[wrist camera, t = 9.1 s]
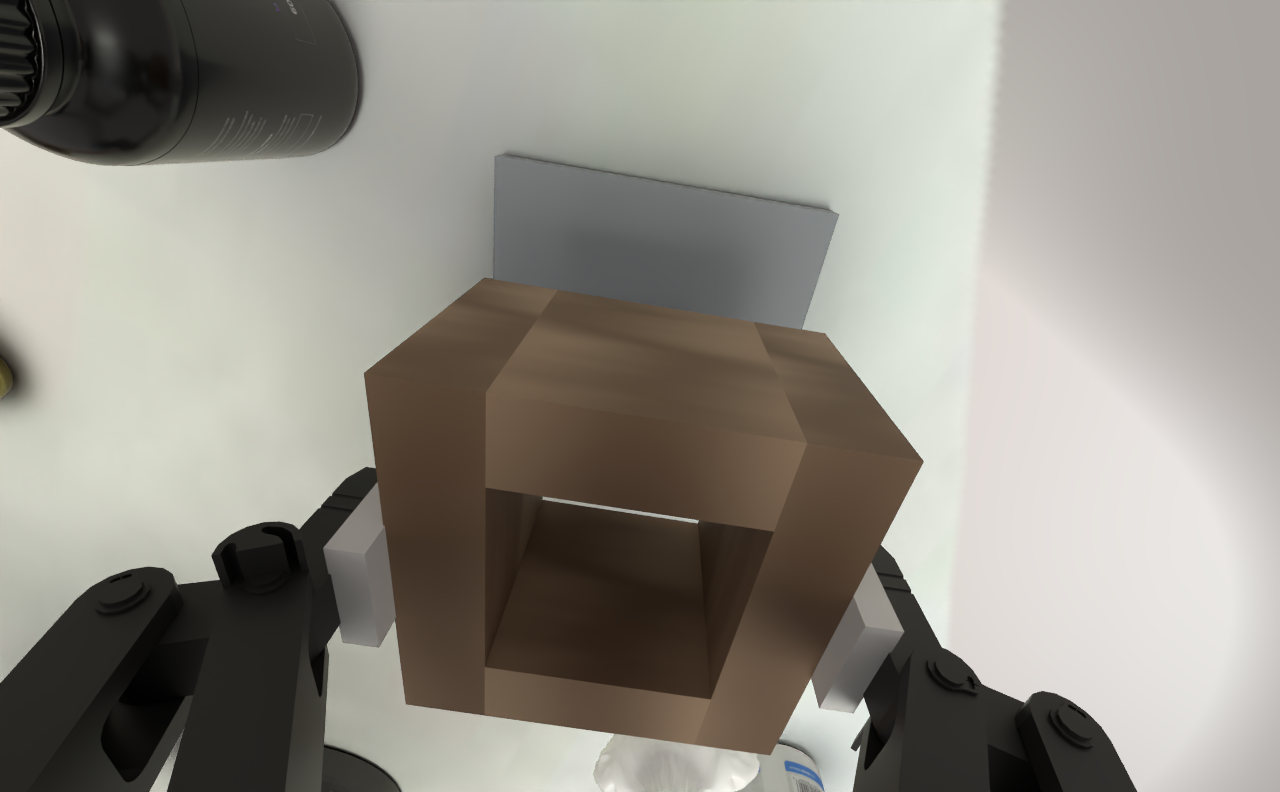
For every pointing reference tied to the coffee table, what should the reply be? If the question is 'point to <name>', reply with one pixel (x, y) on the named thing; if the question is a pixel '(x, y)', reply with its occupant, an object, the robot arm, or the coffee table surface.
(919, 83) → the coffee table surface
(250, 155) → the supplement bottle
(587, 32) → the coffee table surface
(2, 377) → the cup
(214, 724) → the robot arm
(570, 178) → the post block
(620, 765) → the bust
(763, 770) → the supplement tub
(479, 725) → the coffee table surface
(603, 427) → the collar
